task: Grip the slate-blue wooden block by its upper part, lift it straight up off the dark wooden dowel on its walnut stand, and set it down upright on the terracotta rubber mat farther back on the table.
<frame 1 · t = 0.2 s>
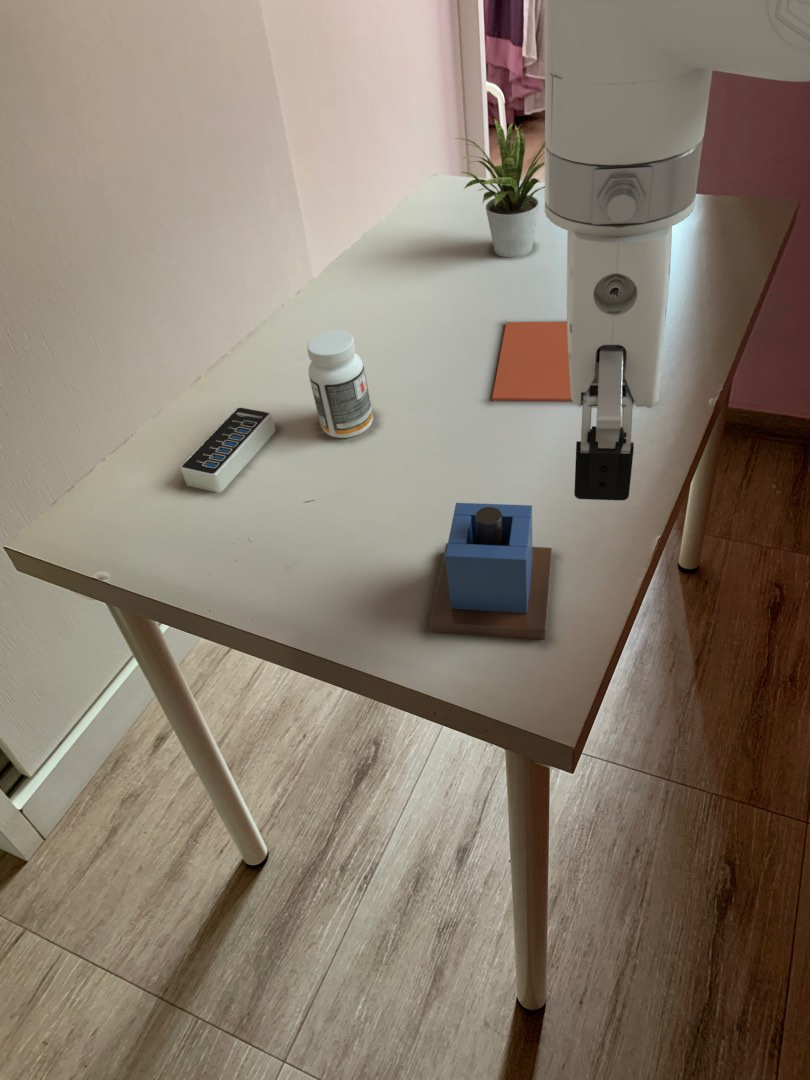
hand: (601, 447, 53), 16 cm above the table, tool pointing down, fingers open, 9 cm apart
blue block: (492, 583, 66), point 1 cm above the table, touching dowel stand
pill bottle: (347, 425, 86), on the table
dowel stand: (493, 593, 66), on the table
house plant: (506, 248, 113), on the table
mat: (571, 360, 90), on the table
multiport hub: (233, 458, 84), on the table
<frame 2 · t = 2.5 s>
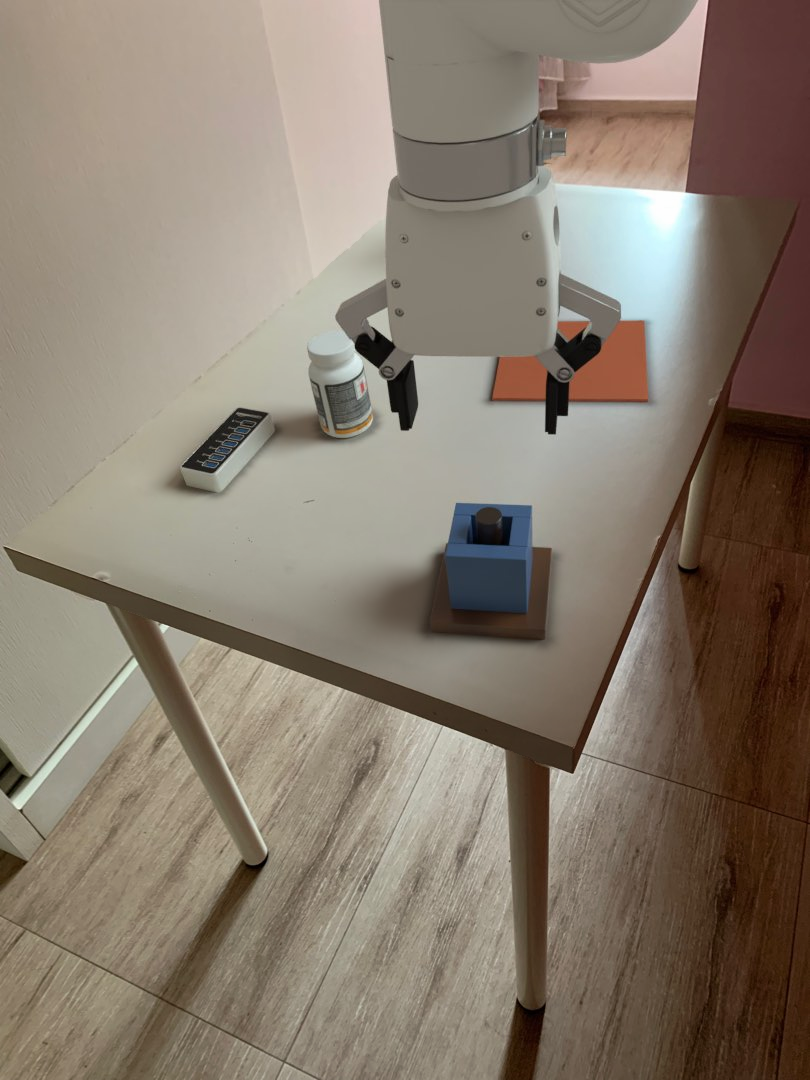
hand: (479, 420, 55), 17 cm above the table, tool pointing down, fingers open, 9 cm apart
nothing on the table moved.
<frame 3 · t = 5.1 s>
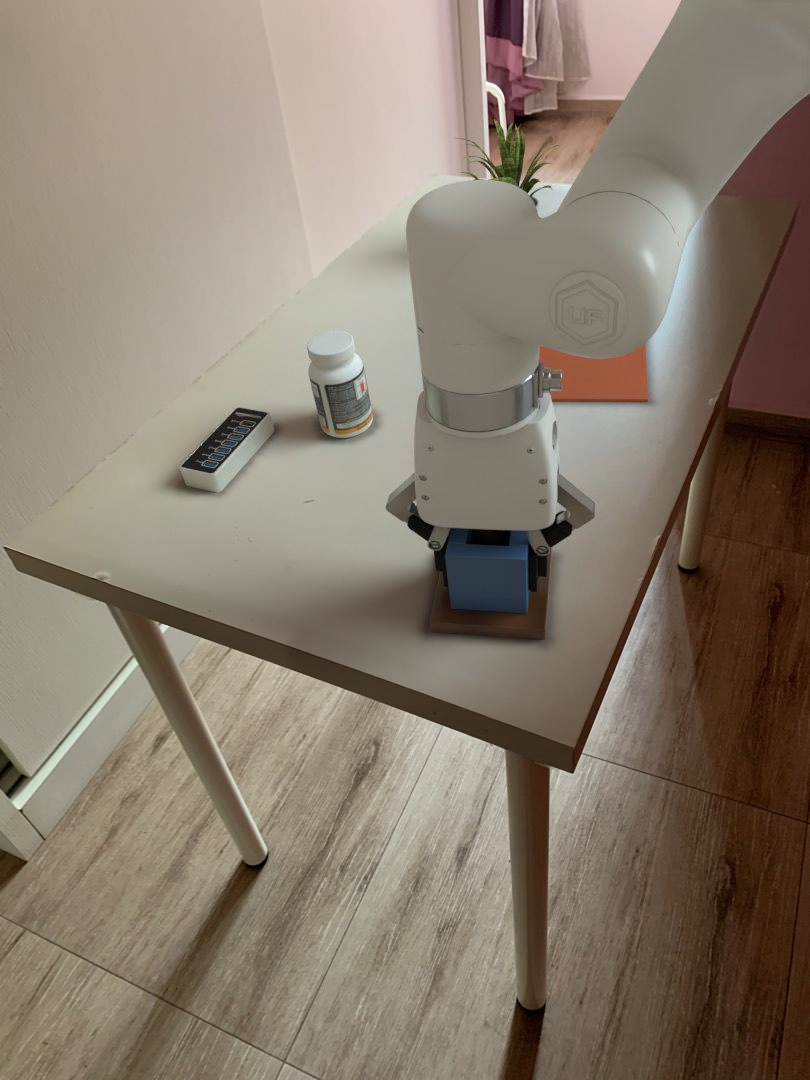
hand: (492, 575, 65), 2 cm above the table, tool pointing down, fingers closed on blue block, 6 cm apart
blue block: (492, 583, 66), point 1 cm above the table, touching dowel stand, gripper
everything else where it was.
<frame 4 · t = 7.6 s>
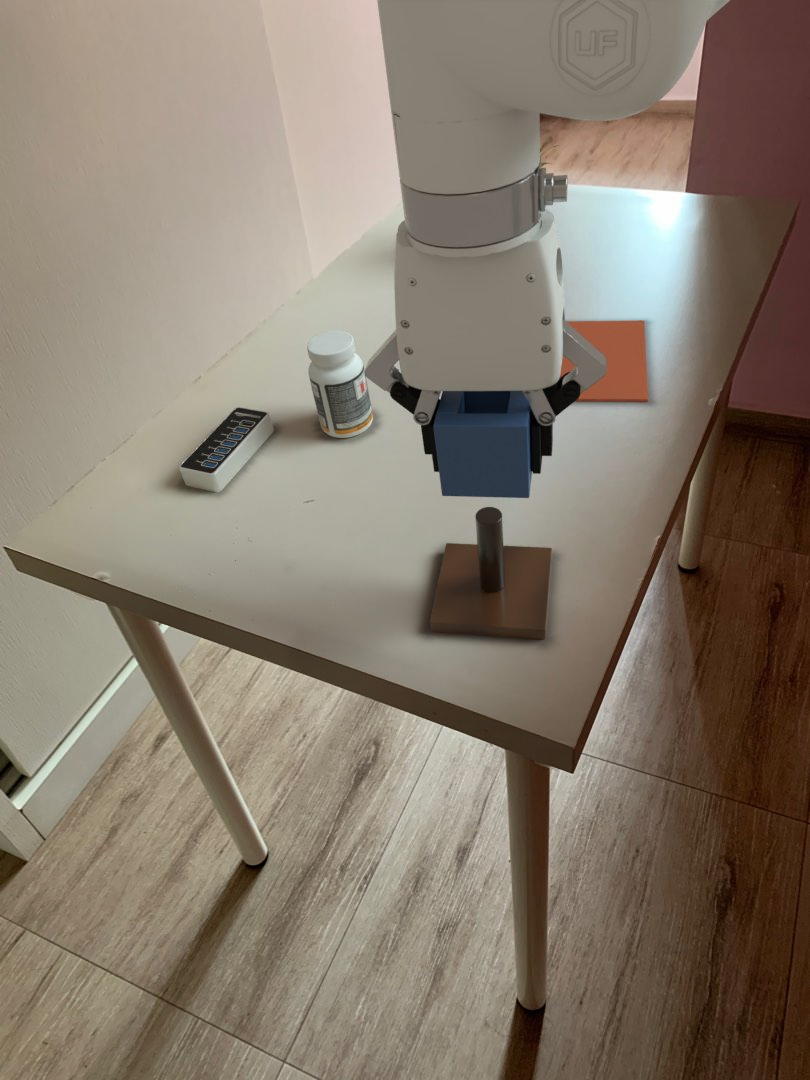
hand: (488, 458, 57), 14 cm above the table, tool pointing down, fingers closed on blue block, 6 cm apart
blue block: (489, 469, 57), point 13 cm above the table, touching gripper
everything else where it was.
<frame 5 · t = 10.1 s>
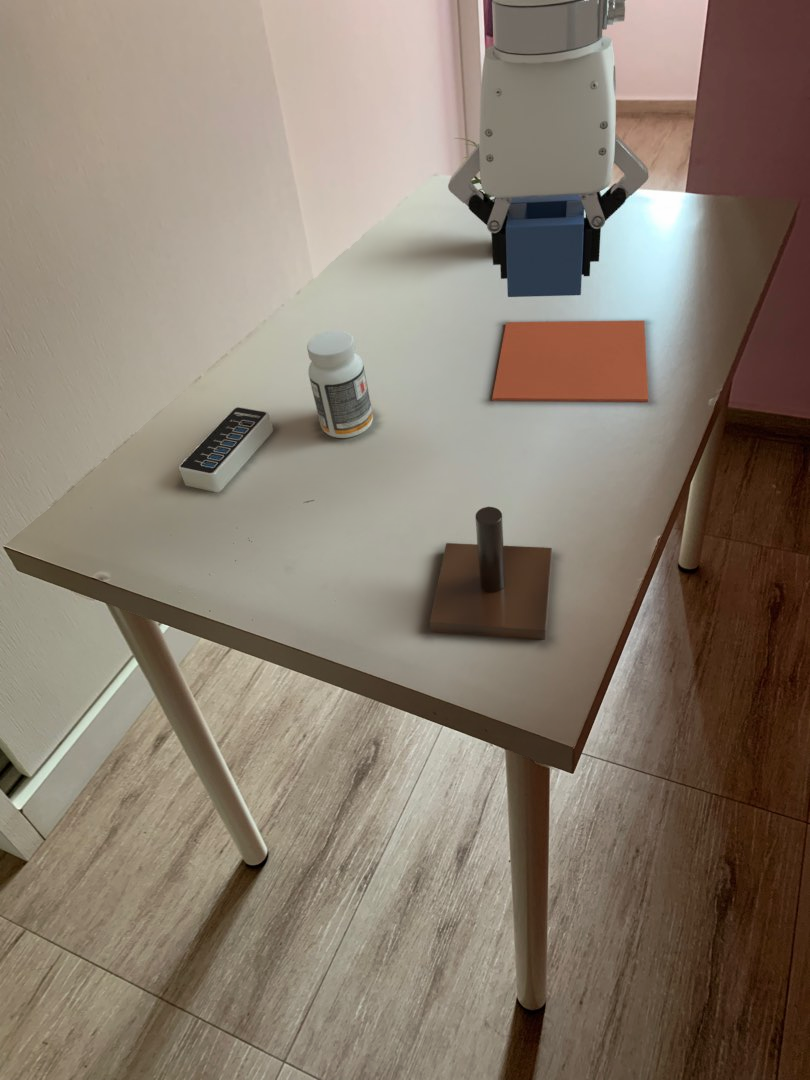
hand: (545, 268, 68), 18 cm above the table, tool pointing down, fingers closed on blue block, 6 cm apart
blue block: (545, 279, 69), point 17 cm above the table, touching gripper
everything else where it was.
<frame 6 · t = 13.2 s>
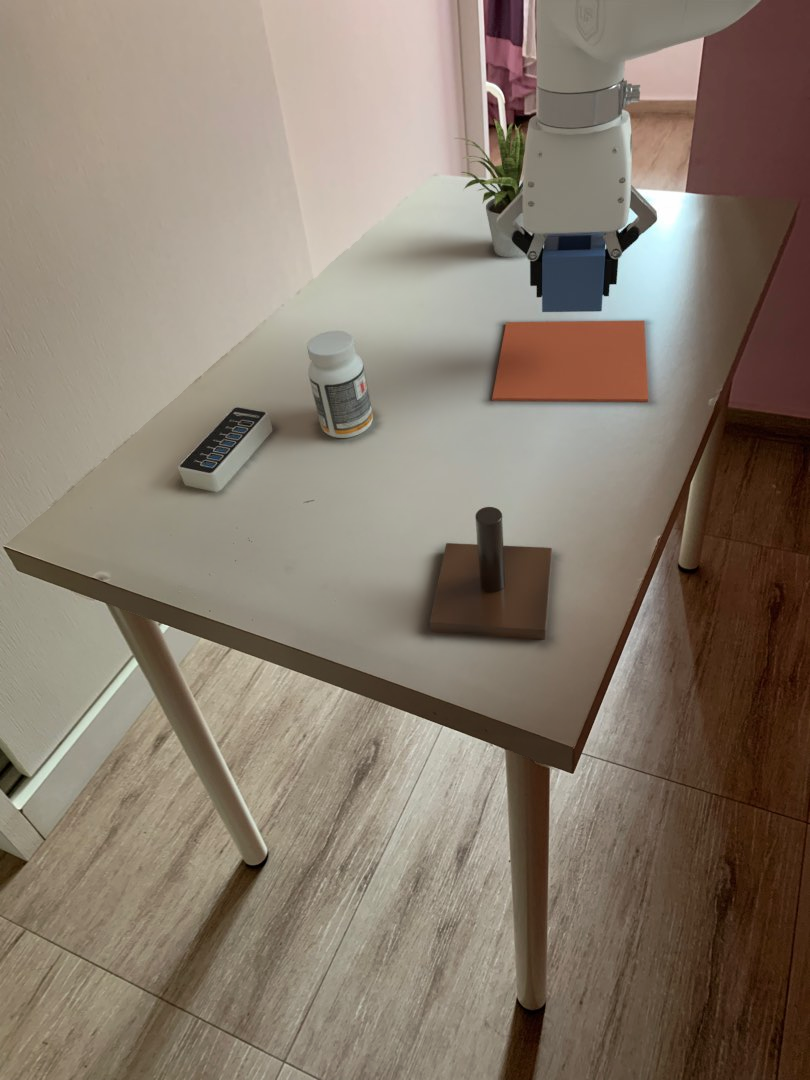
hand: (572, 289, 84), 9 cm above the table, tool pointing down, fingers closed on blue block, 6 cm apart
blue block: (572, 297, 85), point 8 cm above the table, touching gripper
everything else where it was.
when the fingers open (1 cm above the table, at t = 15.5 s): blue block stays where it is, resting on mat.
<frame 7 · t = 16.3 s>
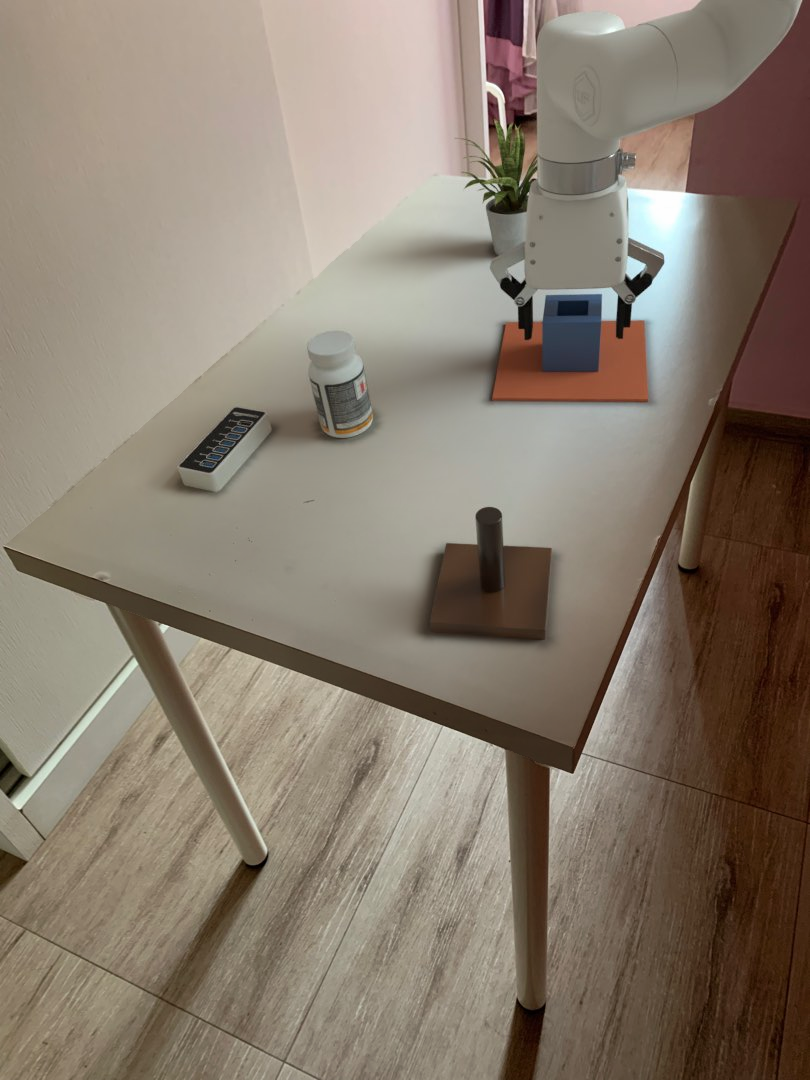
hand: (573, 333, 88), 4 cm above the table, tool pointing down, fingers open, 9 cm apart
blue block: (571, 357, 90), resting on mat
everything else where it was.
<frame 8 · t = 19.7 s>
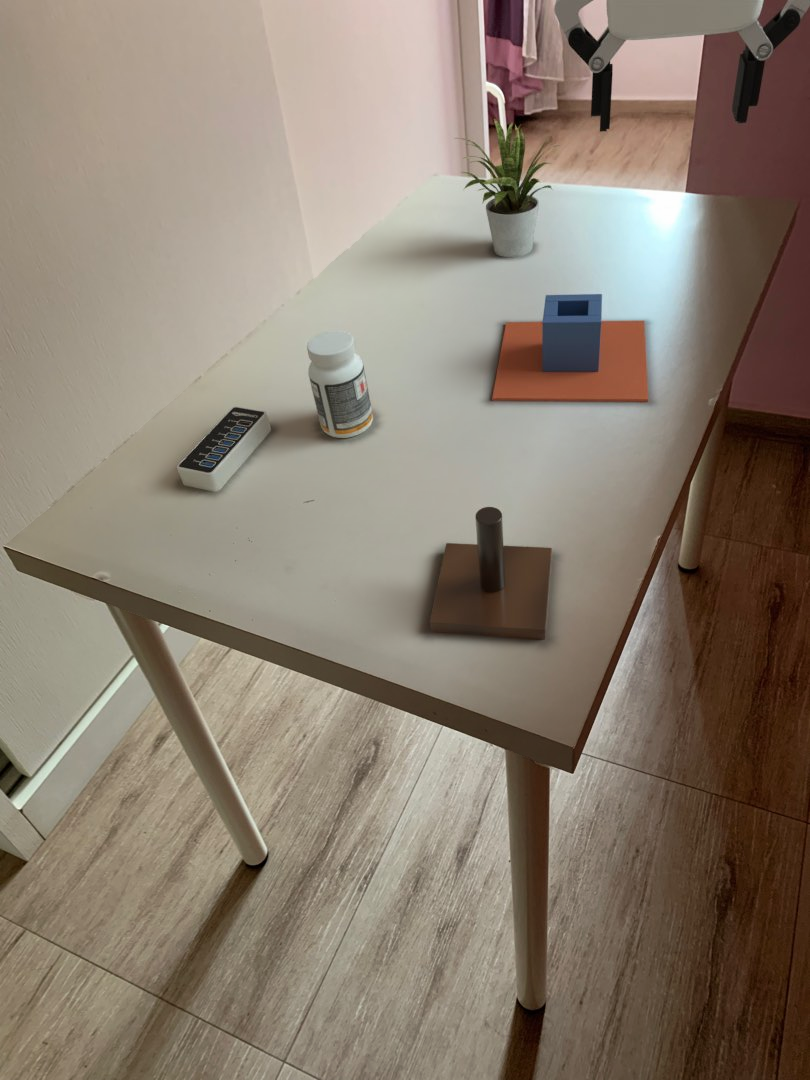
hand: (670, 121, 61), 28 cm above the table, tool pointing down, fingers open, 9 cm apart
nothing on the table moved.
at the end: blue block inside the target area on the mat (0.0 cm from its centre), point 0.4 cm above the mat's base; blue block tilted 0°; the gripper is holding nothing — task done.
